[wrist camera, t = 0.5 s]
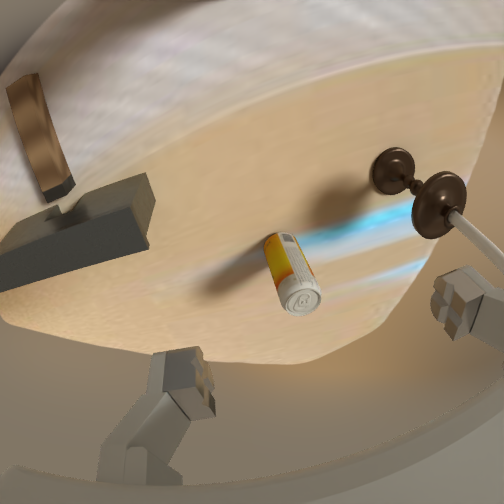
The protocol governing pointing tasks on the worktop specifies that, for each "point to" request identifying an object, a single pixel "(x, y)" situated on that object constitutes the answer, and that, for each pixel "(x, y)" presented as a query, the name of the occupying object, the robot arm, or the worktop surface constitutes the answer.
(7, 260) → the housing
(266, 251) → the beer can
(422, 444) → the robot arm
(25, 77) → the rod
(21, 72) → the worktop surface
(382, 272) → the worktop surface
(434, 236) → the candlestick
